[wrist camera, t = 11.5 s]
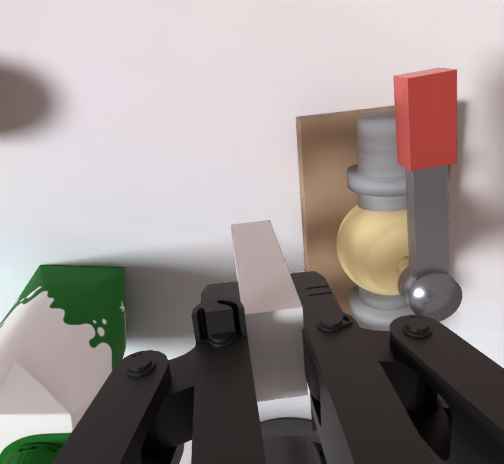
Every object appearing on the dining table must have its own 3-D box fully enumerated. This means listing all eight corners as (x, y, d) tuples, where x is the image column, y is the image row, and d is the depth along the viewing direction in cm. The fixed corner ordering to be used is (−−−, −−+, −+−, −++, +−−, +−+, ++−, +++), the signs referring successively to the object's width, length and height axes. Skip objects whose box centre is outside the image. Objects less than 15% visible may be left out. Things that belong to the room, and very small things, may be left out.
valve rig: (430, 312, 45) (490, 385, 35) (308, 328, 45) (335, 407, 35) (442, 100, 38) (523, 120, 28) (295, 116, 37) (326, 142, 27)
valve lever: (444, 297, 32) (462, 316, 30) (398, 306, 32) (412, 326, 30) (443, 66, 26) (464, 68, 24) (386, 76, 26) (403, 79, 24)
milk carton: (136, 342, 44) (82, 560, 25) (36, 341, 43) (-97, 567, 24) (134, 257, 40) (70, 435, 22) (25, 254, 40) (-136, 438, 21)
